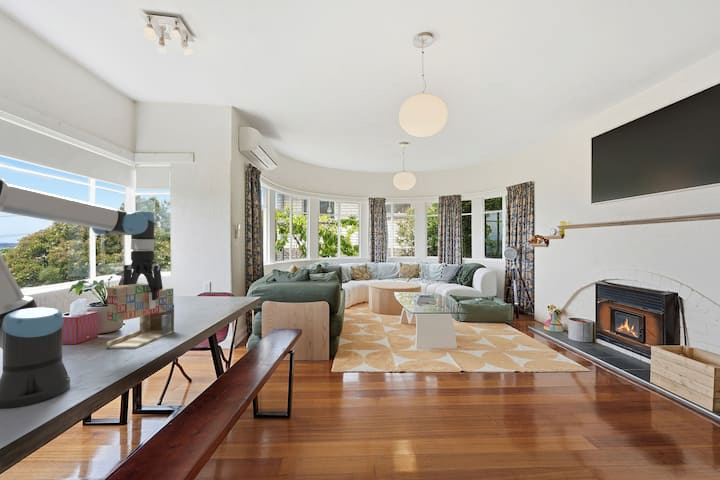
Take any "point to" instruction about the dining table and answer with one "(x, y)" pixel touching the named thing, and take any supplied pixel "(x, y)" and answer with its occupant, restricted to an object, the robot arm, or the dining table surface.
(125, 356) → the dining table surface
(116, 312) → the stack of blocks
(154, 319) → the alphabet block box
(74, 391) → the dining table surface
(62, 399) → the dining table surface
